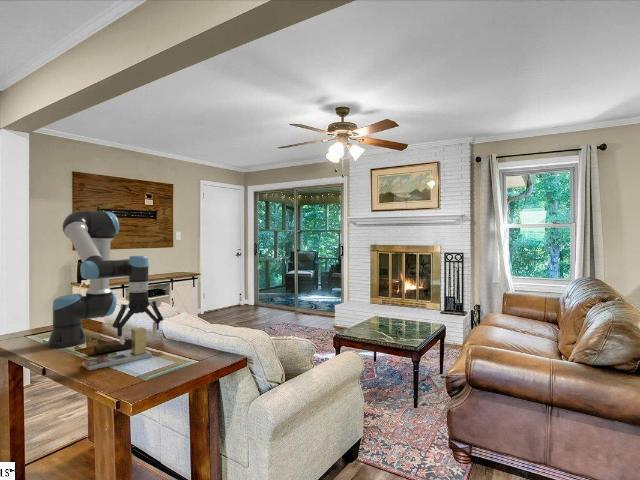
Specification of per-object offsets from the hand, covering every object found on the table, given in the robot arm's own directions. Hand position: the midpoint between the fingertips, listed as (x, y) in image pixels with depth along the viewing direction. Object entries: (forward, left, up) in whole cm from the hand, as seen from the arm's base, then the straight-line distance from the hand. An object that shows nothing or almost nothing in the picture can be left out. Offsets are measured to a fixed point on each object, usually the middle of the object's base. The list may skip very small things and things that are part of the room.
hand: (138, 340), depth 161 cm
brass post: (0, 0, -7) cm, 7 cm away
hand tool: (-17, -3, -8) cm, 19 cm away
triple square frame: (0, -8, -7) cm, 11 cm away
